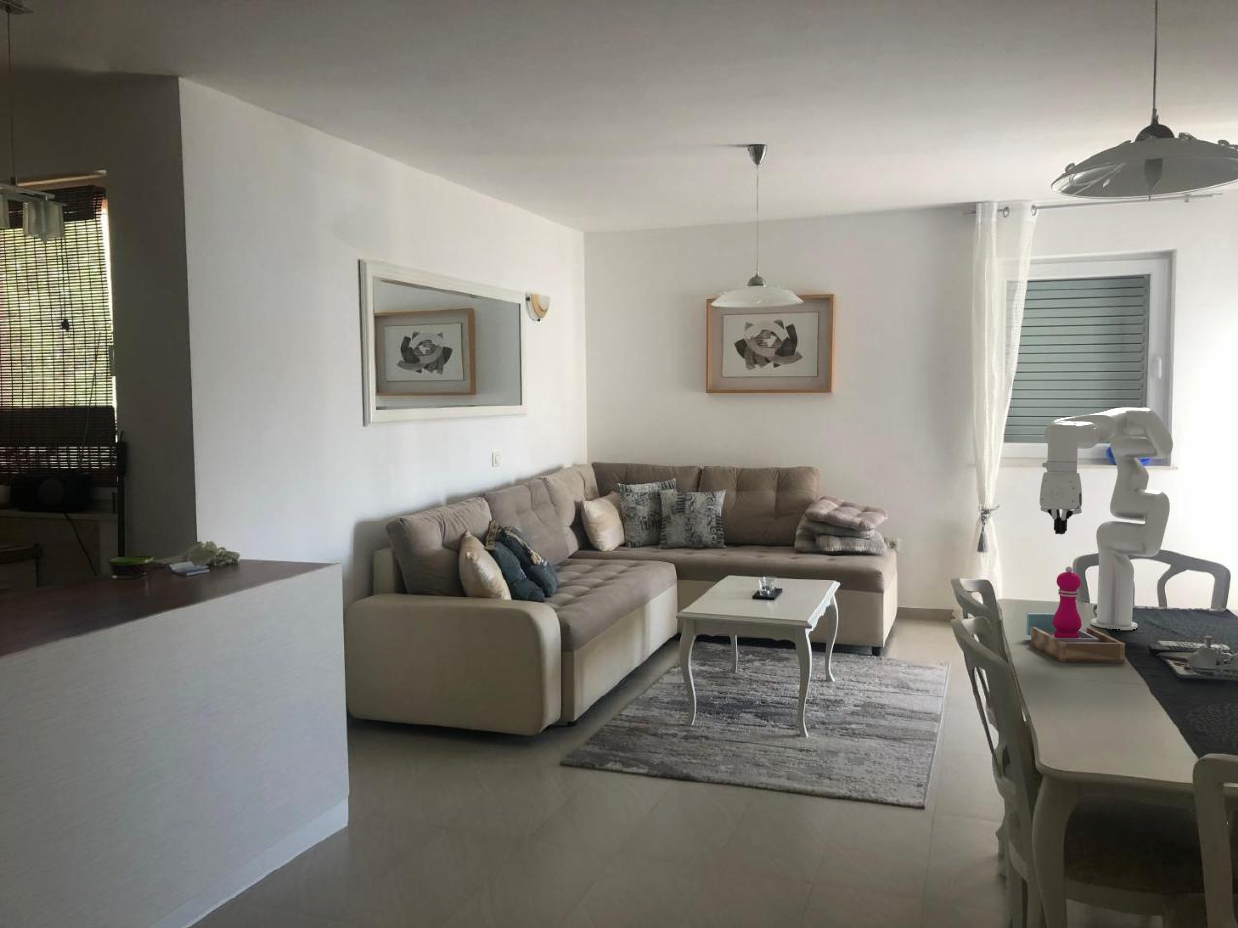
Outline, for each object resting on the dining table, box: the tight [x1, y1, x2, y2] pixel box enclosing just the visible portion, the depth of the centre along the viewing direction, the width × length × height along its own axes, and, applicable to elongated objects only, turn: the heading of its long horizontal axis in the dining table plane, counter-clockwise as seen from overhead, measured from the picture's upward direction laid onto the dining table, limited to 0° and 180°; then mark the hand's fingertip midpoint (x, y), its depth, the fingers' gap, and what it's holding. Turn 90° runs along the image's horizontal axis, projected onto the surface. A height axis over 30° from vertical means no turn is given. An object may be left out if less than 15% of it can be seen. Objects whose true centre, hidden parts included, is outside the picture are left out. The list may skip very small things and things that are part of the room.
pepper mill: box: [1053, 566, 1083, 638], centre depth 269 cm, size 7×7×20 cm
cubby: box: [1030, 627, 1126, 664], centre depth 263 cm, size 18×16×5 cm
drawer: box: [1026, 612, 1100, 643], centre depth 271 cm, size 16×13×6 cm
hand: (1060, 533), depth 274 cm, fingers closed
